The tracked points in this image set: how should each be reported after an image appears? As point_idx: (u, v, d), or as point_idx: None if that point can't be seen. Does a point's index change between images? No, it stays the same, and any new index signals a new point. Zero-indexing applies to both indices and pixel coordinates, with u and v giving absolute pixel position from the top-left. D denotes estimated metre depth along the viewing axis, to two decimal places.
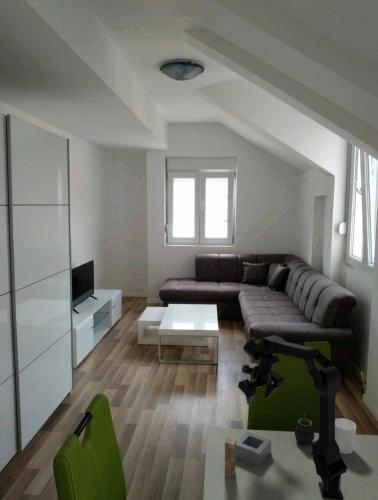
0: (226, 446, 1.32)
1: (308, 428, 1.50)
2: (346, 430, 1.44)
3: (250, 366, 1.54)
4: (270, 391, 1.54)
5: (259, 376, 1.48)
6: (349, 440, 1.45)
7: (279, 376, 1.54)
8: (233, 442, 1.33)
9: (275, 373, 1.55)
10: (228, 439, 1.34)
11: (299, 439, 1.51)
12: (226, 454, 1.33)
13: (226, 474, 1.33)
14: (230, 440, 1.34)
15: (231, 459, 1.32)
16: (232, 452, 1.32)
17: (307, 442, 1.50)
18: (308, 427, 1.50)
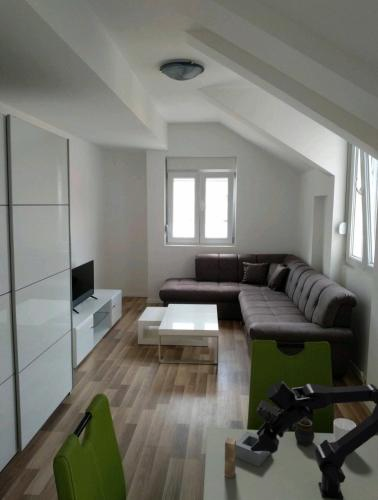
0: (226, 446, 1.32)
1: (308, 428, 1.50)
2: (346, 430, 1.44)
3: (268, 409, 1.26)
4: None
5: (282, 428, 1.24)
6: None
7: None
8: (233, 442, 1.33)
9: None
10: (228, 439, 1.34)
11: (299, 439, 1.51)
12: (226, 454, 1.33)
13: (226, 474, 1.33)
14: (230, 440, 1.34)
15: (231, 459, 1.32)
16: (232, 452, 1.32)
17: (307, 442, 1.50)
18: (308, 427, 1.50)
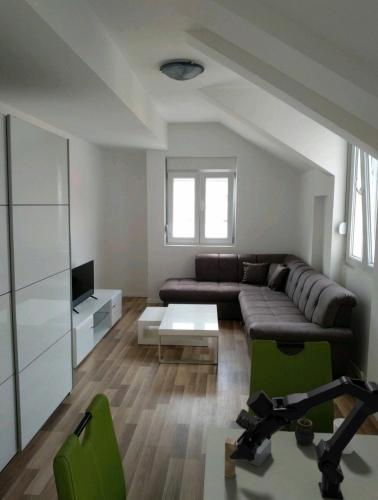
0: (226, 446, 1.32)
1: (308, 428, 1.50)
2: None
3: (247, 418, 1.29)
4: (248, 439, 1.36)
5: (260, 437, 1.26)
6: None
7: None
8: (233, 442, 1.33)
9: None
10: (228, 439, 1.34)
11: (299, 439, 1.51)
12: (226, 454, 1.33)
13: (226, 474, 1.33)
14: (230, 440, 1.34)
15: (231, 459, 1.32)
16: (232, 452, 1.32)
17: (307, 442, 1.50)
18: (308, 427, 1.50)
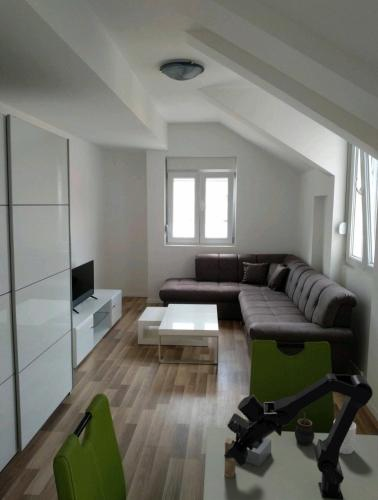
0: (226, 446, 1.32)
1: (308, 428, 1.50)
2: None
3: (238, 422, 1.30)
4: None
5: (252, 441, 1.28)
6: (349, 440, 1.45)
7: None
8: None
9: None
10: (228, 439, 1.34)
11: (299, 439, 1.51)
12: None
13: (226, 474, 1.33)
14: (230, 440, 1.34)
15: (231, 459, 1.32)
16: None
17: (307, 442, 1.50)
18: (308, 427, 1.50)
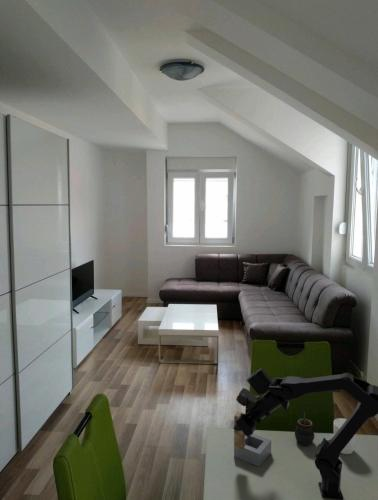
0: (235, 419, 1.37)
1: (308, 428, 1.50)
2: None
3: (247, 396, 1.35)
4: None
5: (259, 414, 1.32)
6: None
7: None
8: None
9: None
10: (238, 413, 1.39)
11: (299, 439, 1.51)
12: None
13: (235, 446, 1.38)
14: (239, 414, 1.38)
15: (240, 432, 1.37)
16: None
17: (307, 442, 1.50)
18: (308, 427, 1.50)
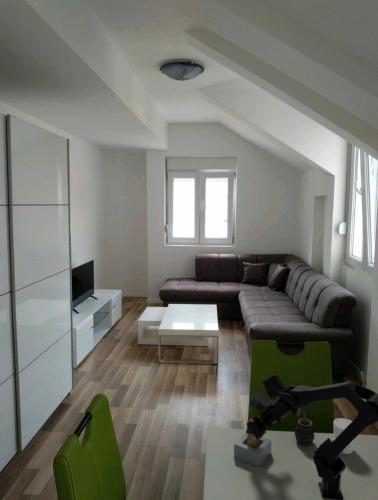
0: None
1: (308, 428, 1.50)
2: None
3: (260, 400, 1.40)
4: None
5: (271, 418, 1.37)
6: None
7: None
8: None
9: None
10: None
11: (299, 439, 1.51)
12: None
13: None
14: None
15: (253, 438, 1.43)
16: None
17: (307, 442, 1.50)
18: (308, 427, 1.50)
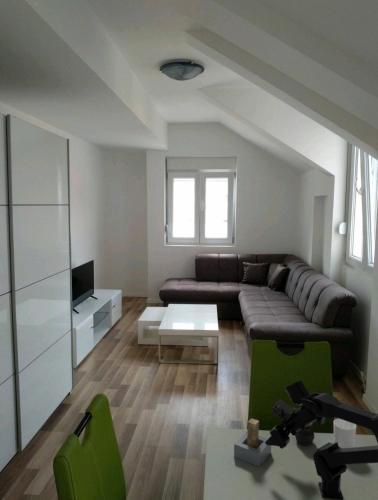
0: (249, 425, 1.44)
1: (308, 428, 1.50)
2: (346, 430, 1.44)
3: (282, 408, 1.35)
4: None
5: (294, 427, 1.32)
6: (349, 440, 1.45)
7: None
8: (255, 422, 1.43)
9: None
10: (251, 419, 1.45)
11: (299, 439, 1.51)
12: (248, 433, 1.44)
13: None
14: (253, 420, 1.44)
15: (253, 438, 1.43)
16: (254, 431, 1.43)
17: (307, 442, 1.50)
18: (308, 427, 1.50)
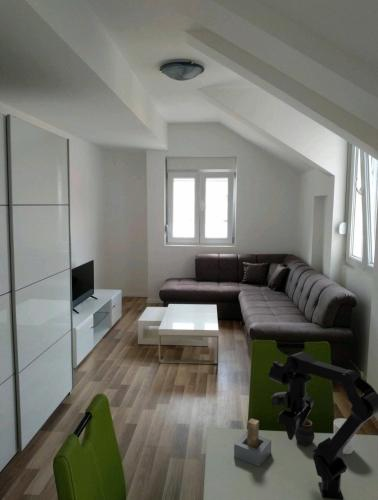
0: (249, 425, 1.44)
1: (308, 428, 1.50)
2: None
3: (278, 396, 1.37)
4: (304, 417, 1.39)
5: (295, 402, 1.32)
6: None
7: (308, 397, 1.41)
8: (255, 422, 1.43)
9: None
10: (251, 419, 1.45)
11: (299, 439, 1.51)
12: (248, 433, 1.44)
13: None
14: (253, 420, 1.44)
15: (253, 438, 1.43)
16: (254, 431, 1.43)
17: (307, 442, 1.50)
18: (308, 427, 1.50)
